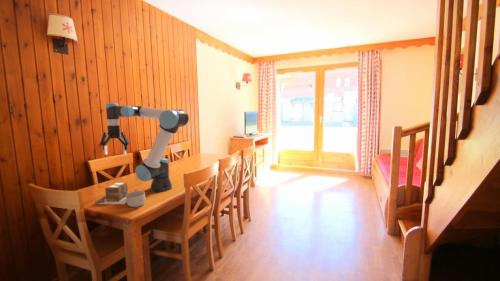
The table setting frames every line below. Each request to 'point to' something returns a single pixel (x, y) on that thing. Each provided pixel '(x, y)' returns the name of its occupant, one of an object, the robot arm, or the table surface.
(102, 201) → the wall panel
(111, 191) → the wooden box
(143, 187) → the table surface
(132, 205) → the teacup
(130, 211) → the table surface
